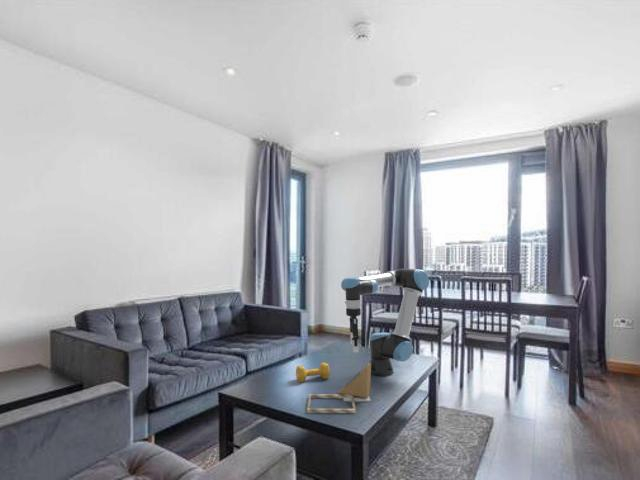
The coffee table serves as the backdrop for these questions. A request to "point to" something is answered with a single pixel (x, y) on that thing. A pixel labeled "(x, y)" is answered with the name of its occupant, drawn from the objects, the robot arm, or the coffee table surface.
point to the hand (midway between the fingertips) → (354, 348)
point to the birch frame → (319, 410)
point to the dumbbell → (312, 372)
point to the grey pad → (357, 398)
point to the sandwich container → (359, 384)
